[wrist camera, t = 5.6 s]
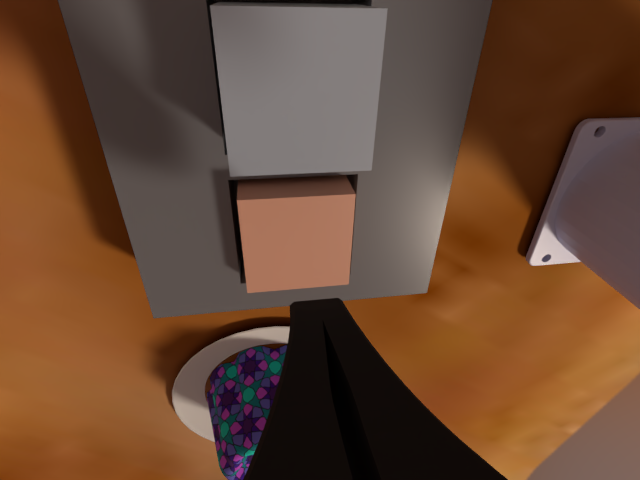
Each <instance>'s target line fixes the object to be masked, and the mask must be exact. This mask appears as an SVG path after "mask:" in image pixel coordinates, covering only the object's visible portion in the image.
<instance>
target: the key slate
mask: <svg viewBox="0 0 640 480" xmlns="http://www.w3.org/2000/svg"><path fill="white" fill-rule="evenodd" d="M210 10H211V19H212V27H213V36H214V44H215V53H216V61H217V70H218V78H219V87H220V95H221V104H222V112H223V120H224V129H225V137H226V146H227V154H228V163H229V171H230V177H237V176H259V175H281V174H304V173H326V172H349V171H371V170H372V162H373V152H374V141H375V131H376V121H377V111H378V101H379V91H380V81H381V71H382V61H383V50H384V40H385V30H386V20H387V10H388V8H380V7H373V6H366V5H359V4H322V3H266V2H217V3H215V4H212V5H210Z"/></svg>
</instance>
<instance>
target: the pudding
mask: <svg viewBox="0 0 640 480" xmlns="http://www.w3.org/2000/svg"><path fill="white" fill-rule="evenodd" d="M289 331H290V327H285V326H274V327H265V328H256V329H252V330H248V331H243V332H239V333H236V334H233V335H230V336H228V337H225V338H222V339H220V340H218V341H216V342H214V343H212V344H211V345H209V346H207V347H205V348H204V349H202V350H201V351H200V352H198V353H197V354H196V355H194V356H193V357H192V358H191V359H190V360H189V361H188V362H187V363H186V364H185V365H184V366H183V368H182V369H181V371H180V372H179V374H178V376H177V378H176V379H175V382H174V386H173V390H172V403H173V406H174V409H175V412H176V414H177V415H178V417H179V418H180V420H181V421H182V422H183V423H184V424H185V425H186V426H187V427H188V428H189V429H190V430H192V431H193V432H195V433H196V434H198V435H200V436H201V437H204V438H206V439H208V440H211V441H213V442H215V445H216V450H217V456H218V461H219V466H220V469H221V471H222V473H223V475H224V476H225V477H226V478H227V479H228V480H243V479H244V477H245V474H246V472H247V470H248V467H249V465H250V462H251V460H252V457H253V455H254V452H255V450H256V447H257V445H258V442H259V440H260V437H261V434H262V432H263V429H264V426H265V423H266V421H267V418H268V415H269V412H270V409H271V406H272V403H273V399H274V396H275V392H276V389H277V385H278V382H279V378H280V375H281V371H282V367H283V363H284V358H285V353H286V349H287V345H285V346H282V347H280V348H277V349H275V350H274V349H271V348H267V347H264V346H259V345H264V344H273V343H287V344H288V338H289ZM254 346H259V347H254ZM250 347H252V348H250ZM247 348H249V349H247ZM245 349H247V350H245ZM242 350H244V351H242ZM239 351H242V352H240V353H239V354H238V356H237V358H236V359H235V361H234V362H230V363H225V364H221V365H220V366H218V367H217V368H216V369H215V370H214V368H215V367H216V366H217V365H218V364H219V363H221V362H222V361H223V360H225V359H226V358H228V357H229V356H231V355H233V354H235V353H237V352H239ZM212 371H213V372H212ZM211 372H212V374H211ZM210 374H211V377H210V383H211V388H212V389H211V390H210V391H209V392H208V393H207V401H208V403H207V401H206V397H205V384H206V381H207V379H208V377H209V375H210Z"/></svg>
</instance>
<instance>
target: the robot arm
mask: <svg viewBox="0 0 640 480" xmlns="http://www.w3.org/2000/svg"><path fill="white" fill-rule="evenodd" d="M598 127H599V129H598V131H597V132H596V133H595V131H596V129H597V128H598ZM594 133H595V134H594ZM526 261H527V262H528V263H529V264H530V265H532V266H538V265H549V264H561V263H573V262H582V263H584V264H585V265H586V266H587V267H588V268H590V269H591V270H592V271H593V272H595V273H596V274H597V275H598V276H599V277H601V278H602V279H603V280H604V281H606V282H607V283H608V284H609V285H610V286H612V287H613V288H614V289H615V290H617V291H618V292H619V293H620V294H621V295H623V296H624V297H625V298H626V299H628V300H629V301H630V302H631V303H632V304H634V305H635V306H636V307H637V308H639V309H640V117H631V118H595V119H585V120H583V121H582V122H580V123H579V124H578V125H577V127H576V128H575V130H574V133H573V135H572V138H571V141H570V143H569V146H568V148H567V151H566V154H565V156H564V159H563V161H562V164H561V167H560V169H559V172H558V174H557V177H556V180H555V182H554V185H553V187H552V190H551V193H550V195H549V198H548V200H547V203H546V206H545V208H544V211H543V213H542V216H541V219H540V221H539V224H538V226H537V229H536V232H535V234H534V237H533V239H532V242H531V245H530V247H529V250H528V252H527V255H526ZM243 480H508V479H506V478H505V477H504V476H503V475H501V474H500V473H499V472H498V471H497V470H495V469H494V468H493V467H492V466H491V465H489V464H488V463H487V462H486V461H485V460H484V459H482V458H481V457H480V456H479V455H478V454H477V453H475V452H474V451H473V450H472V449H471V448H469V447H468V446H467V445H466V444H465V443H464V442H462V441H461V440H460V439H459V438H458V437H457V436H456V435H455V434H453V433H452V432H451V431H450V430H449V429H448V428H447V427H446V426H445V425H444V424H443V423H442V422H441V421H440V420H439V419H438V418H436V417H435V416H434V415H433V414H432V413H431V412H430V411H429V410H428V409H427V408H426V407H425V406H424V405H423V404H422V403H421V401H420V400H419V399H418V398H417V397H416V396H415V395H414V394H413V393H412V392H411V391H410V390H409V389H408V388H407V386H406V385H405V384H404V383H403V382H402V381H401V380H400V379H399V377H398V376H397V375H396V374H395V373H394V372H393V370H392V369H391V368H390V367H389V366H388V364H387V363H386V362H385V361H384V360H383V358H382V357H381V356H380V354H379V353H378V352H377V351H376V349H375V348H374V347H373V346H372V344H371V343H370V342H369V340H368V339H367V338H366V336H365V335H364V333H363V332H362V331H361V329H360V328H359V326H358V325H357V324H356V322H355V321H354V319H353V318H352V316H351V314H350V313H349V311H348V310H347V308H346V307H345V305H344V303H343V301H342V300H341V299H339V298H330V299H318V300H307V301H296V302H293V303H292V304H291V305H290V331H289V338H288V344H287V349H286V353H285V358H284V363H283V367H282V371H281V375H280V378H279V382H278V385H277V389H276V392H275V396H274V399H273V403H272V406H271V409H270V412H269V415H268V418H267V421H266V423H265V426H264V429H263V432H262V434H261V437H260V440H259V442H258V445H257V447H256V450H255V452H254V455H253V457H252V460H251V462H250V465H249V467H248V470H247V472H246V474H245V477H244V479H243Z"/></svg>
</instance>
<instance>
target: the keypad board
mask: <svg viewBox="0 0 640 480" xmlns="http://www.w3.org/2000/svg"><path fill="white" fill-rule="evenodd" d="M58 2H59V6H60V9H61V12H62V16H63V19H64V22H65V26H66V29H67V32H68V36H69V39H70V42H71V46H72V49H73V52H74V56H75V59H76V62H77V66H78V69H79V72H80V75H81V79H82V82H83V85H84V89H85V92H86V95H87V99H88V102H89V105H90V109H91V112H92V115H93V119H94V122H95V125H96V129H97V132H98V135H99V138H100V142H101V145H102V148H103V152H104V155H105V158H106V162H107V165H108V168H109V172H110V175H111V178H112V182H113V185H114V188H115V192H116V195H117V198H118V201H119V205H120V208H121V211H122V215H123V218H124V221H125V225H126V228H127V231H128V235H129V238H130V241H131V245H132V248H133V251H134V255H135V258H136V261H137V265H138V268H139V271H140V274H141V278H142V281H143V284H144V288H145V291H146V294H147V298H148V301H149V304H150V308H151V311H152V314H153V318H161V317H172V316H183V315H194V314H204V313H215V312H226V311H237V310H247V309H258V308H269V307H280V306H290V305H291V304H292V303H293V302H296V301H307V300H318V299H330V298H339V299H341V300H342V301H344V300H355V299H366V298H377V297H388V296H398V295H409V294H420V293H427V289H428V285H429V280H430V276H431V272H432V267H433V263H434V258H435V254H436V249H437V245H438V240H439V236H440V232H441V227H442V223H443V218H444V214H445V209H446V205H447V200H448V196H449V192H450V187H451V183H452V178H453V174H454V169H455V165H456V160H457V156H458V152H459V147H460V143H461V138H462V134H463V129H464V125H465V120H466V116H467V112H468V107H469V103H470V98H471V94H472V89H473V85H474V80H475V76H476V72H477V67H478V63H479V58H480V54H481V49H482V45H483V40H484V36H485V32H486V27H487V23H488V18H489V14H490V9H491V5H492V0H58ZM217 2H266V3H322V4H359V5H366V6H373V7H380V8H388V10H387V20H386V30H385V40H384V50H383V61H382V71H381V81H380V91H379V101H378V111H377V121H376V131H375V141H374V152H373V162H372V170H371V171H349V172H326V173H304V174H281V175H259V176H237V177H230V171H229V163H228V154H227V146H226V137H225V129H224V120H223V112H222V104H221V95H220V87H219V78H218V70H217V61H216V53H215V44H214V36H213V27H212V19H211V10H210V5H212V4H215V3H217ZM329 175H346V176H347V178H348V180H349V182H350V184H351V186H352V188H353V190H354V192H355V194H356V198H355V210H354V223H353V236H352V249H351V262H350V275H349V284H348V285H336V286H325V287H313V288H301V289H290V290H278V291H267V292H255V293H247V286H246V277H245V268H244V259H243V250H242V241H241V232H240V223H239V214H238V205H237V191H238V180H241V179H263V178H285V177H307V176H329Z"/></svg>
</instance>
